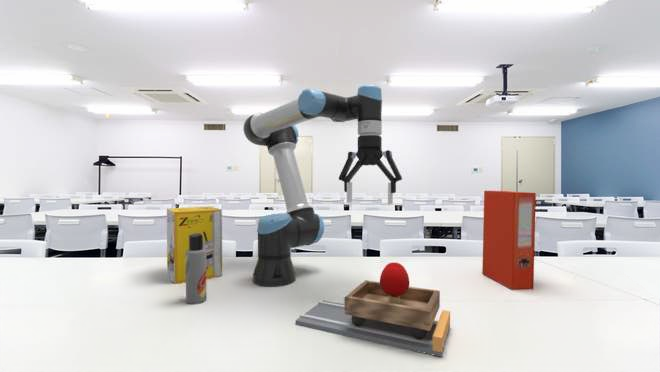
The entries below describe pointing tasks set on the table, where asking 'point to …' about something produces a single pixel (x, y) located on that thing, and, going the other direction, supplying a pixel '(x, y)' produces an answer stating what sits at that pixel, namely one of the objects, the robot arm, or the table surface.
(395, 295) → the light bulb
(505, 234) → the file binder
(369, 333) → the track
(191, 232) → the packaging box
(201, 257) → the lotion bottle
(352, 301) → the tray
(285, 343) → the table surface
